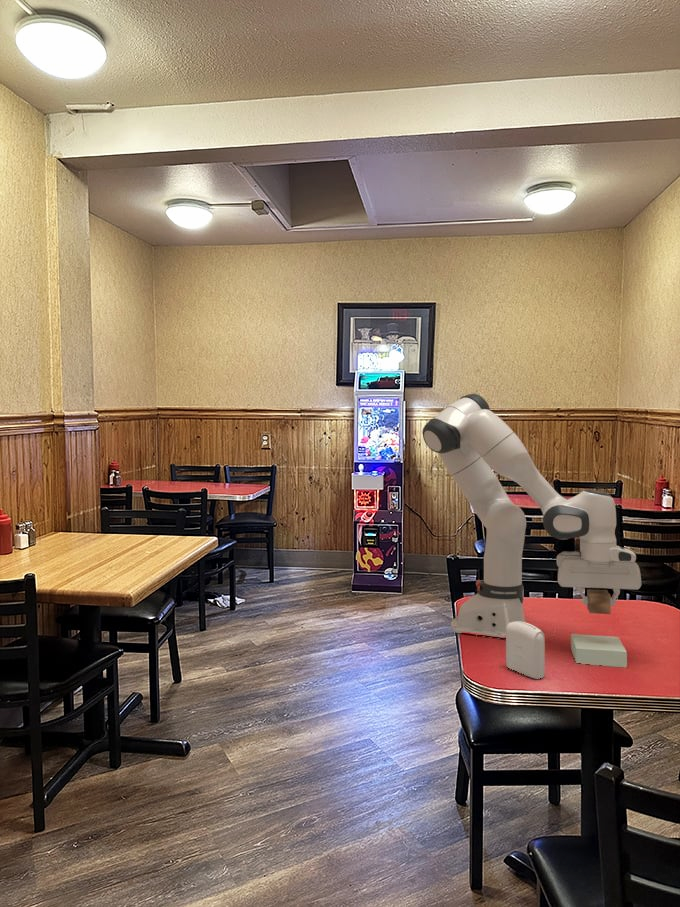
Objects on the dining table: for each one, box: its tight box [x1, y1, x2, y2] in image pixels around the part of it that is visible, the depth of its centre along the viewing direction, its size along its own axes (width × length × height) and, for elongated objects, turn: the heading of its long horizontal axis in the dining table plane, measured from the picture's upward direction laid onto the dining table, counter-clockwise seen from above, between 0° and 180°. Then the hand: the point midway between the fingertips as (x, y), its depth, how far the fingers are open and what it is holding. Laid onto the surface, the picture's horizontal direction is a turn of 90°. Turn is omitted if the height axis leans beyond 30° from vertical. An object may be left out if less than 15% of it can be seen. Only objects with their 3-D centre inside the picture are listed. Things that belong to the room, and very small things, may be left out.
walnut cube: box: [586, 588, 612, 615], centre depth 166 cm, size 5×5×5 cm
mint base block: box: [570, 633, 628, 669], centre depth 167 cm, size 12×12×4 cm
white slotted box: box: [505, 621, 546, 680], centre depth 156 cm, size 10×4×12 cm, turn 32°
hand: (598, 604), depth 166 cm, fingers closed on walnut cube, 5 cm apart
